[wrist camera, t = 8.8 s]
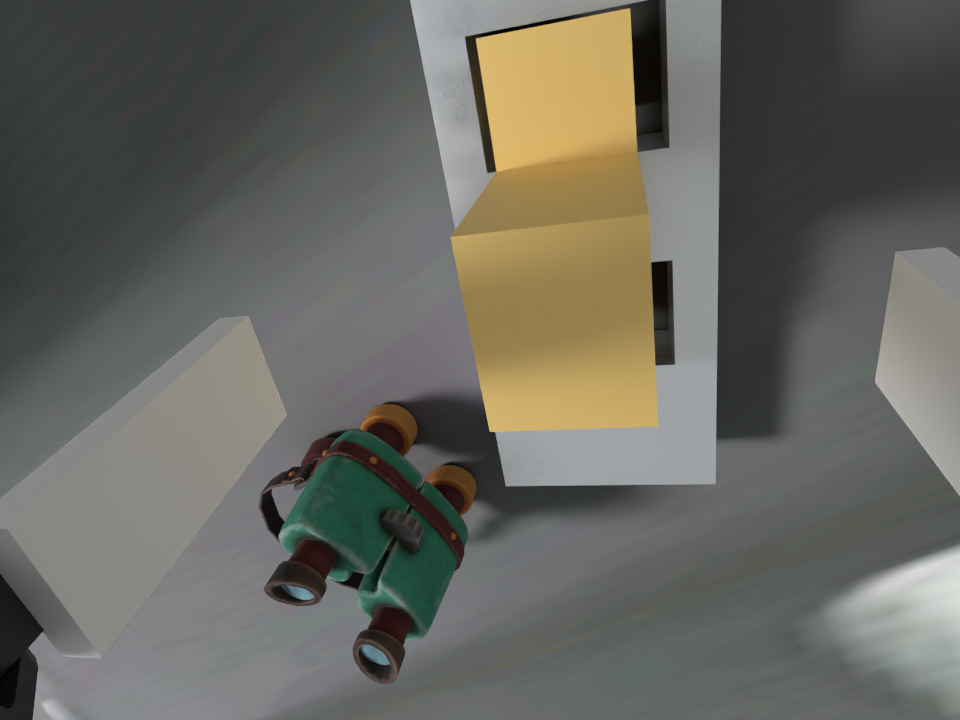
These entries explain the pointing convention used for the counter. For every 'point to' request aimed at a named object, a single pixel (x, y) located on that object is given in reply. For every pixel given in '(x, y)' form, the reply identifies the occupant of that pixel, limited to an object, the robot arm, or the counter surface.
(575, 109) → the yellow stepped block
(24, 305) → the counter surface
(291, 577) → the binoculars
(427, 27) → the grey board with holes
